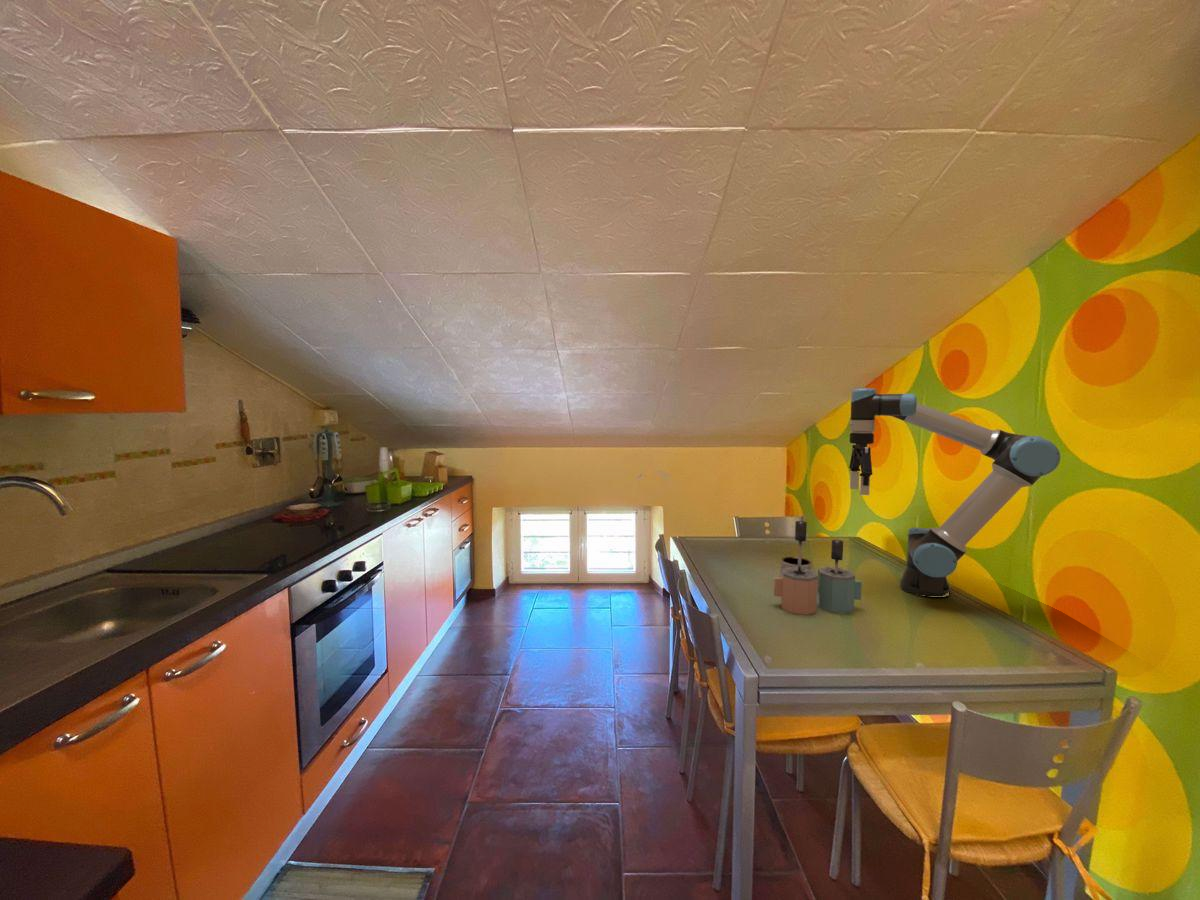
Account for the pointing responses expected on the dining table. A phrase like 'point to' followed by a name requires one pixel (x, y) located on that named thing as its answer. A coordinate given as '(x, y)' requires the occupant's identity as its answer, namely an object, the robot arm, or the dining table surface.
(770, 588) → the dining table surface
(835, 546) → the dark brown cylinder-topped rod
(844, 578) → the pot teal
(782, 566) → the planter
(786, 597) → the pot terracotta
